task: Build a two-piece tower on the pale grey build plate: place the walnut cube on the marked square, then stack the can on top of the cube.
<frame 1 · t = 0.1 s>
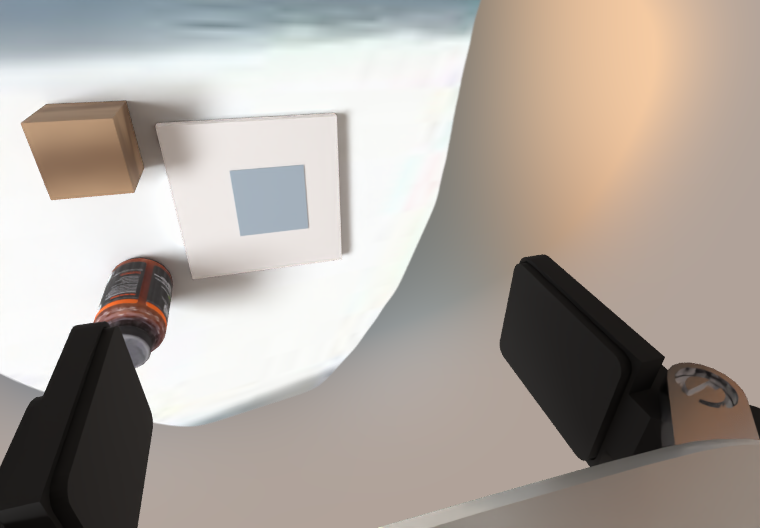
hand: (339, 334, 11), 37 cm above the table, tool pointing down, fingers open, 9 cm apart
walnut cube: (98, 137, 40), on the table
supplement bottle: (142, 279, 48), on the table
build plate: (260, 197, 47), on the table
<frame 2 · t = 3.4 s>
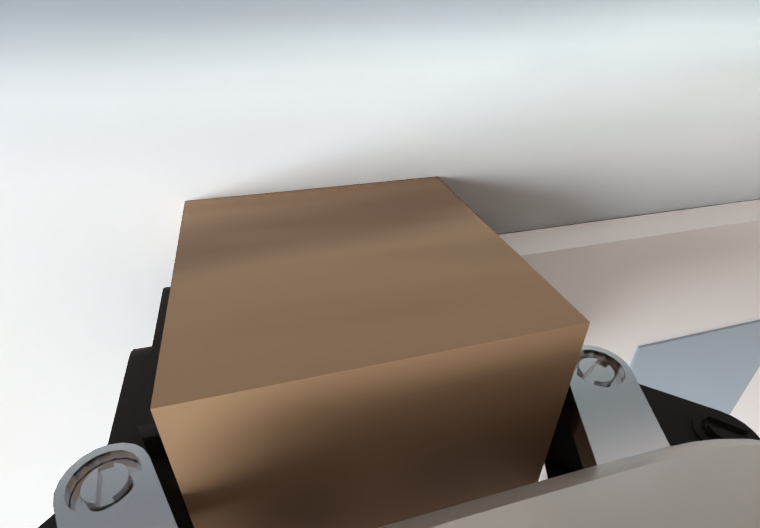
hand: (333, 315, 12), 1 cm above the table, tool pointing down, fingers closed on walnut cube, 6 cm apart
walnut cube: (325, 291, 13), on the table, touching gripper
build plate: (640, 379, 19), on the table
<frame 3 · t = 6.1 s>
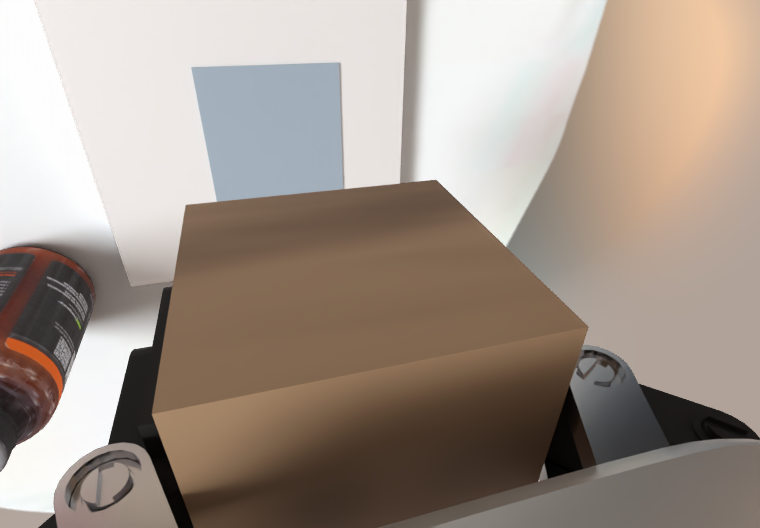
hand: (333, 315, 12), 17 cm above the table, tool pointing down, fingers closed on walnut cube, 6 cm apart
walnut cube: (325, 293, 13), point 16 cm above the table, touching gripper
supplement bottle: (39, 286, 26), on the table
build plate: (254, 131, 25), on the table
when the fingers open (4 cm above the table, at t = 8.8 s): walnut cube drops 1 cm, resting on build plate.
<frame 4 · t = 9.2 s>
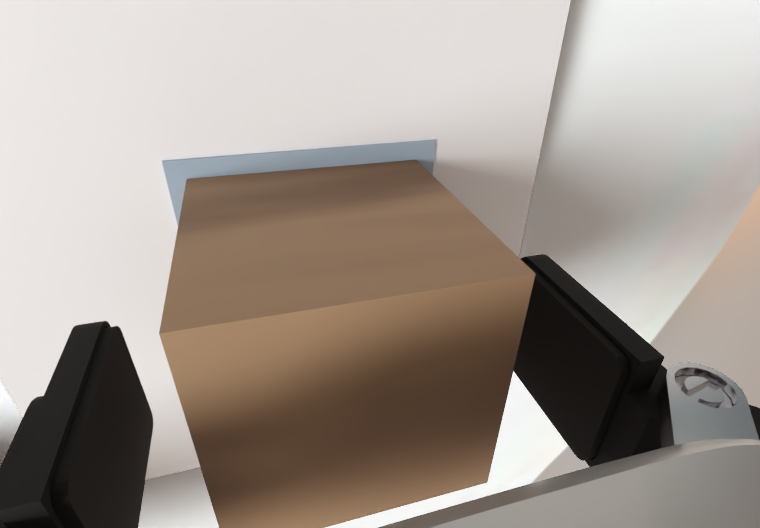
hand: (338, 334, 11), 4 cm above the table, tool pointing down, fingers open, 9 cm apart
walnut cube: (315, 265, 14), point 1 cm above the table, touching build plate
build plate: (278, 248, 14), on the table
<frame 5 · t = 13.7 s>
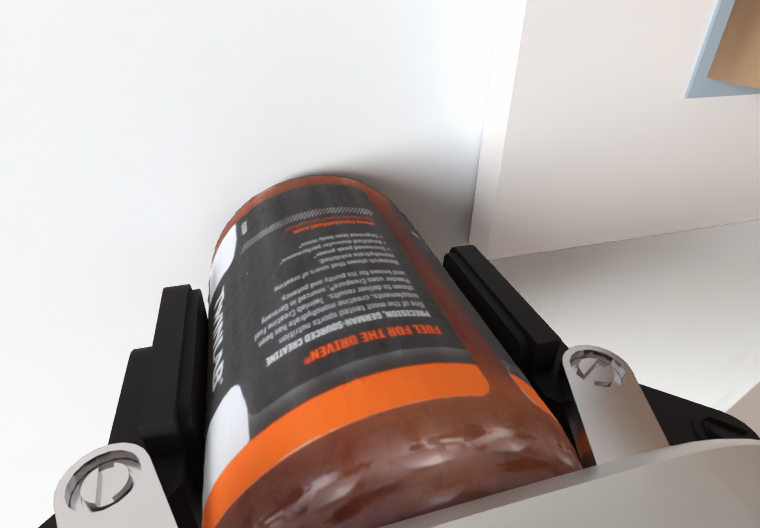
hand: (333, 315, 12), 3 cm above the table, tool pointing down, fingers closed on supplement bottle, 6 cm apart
supplement bottle: (314, 259, 14), on the table, touching gripper
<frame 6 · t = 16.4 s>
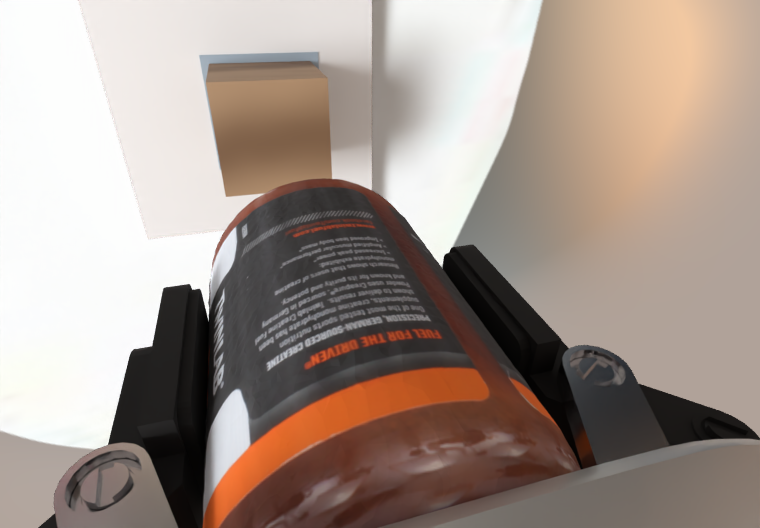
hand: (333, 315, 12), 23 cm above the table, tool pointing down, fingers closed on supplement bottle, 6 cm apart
walnut cube: (266, 112, 29), point 1 cm above the table, touching build plate
supplement bottle: (314, 262, 14), point 20 cm above the table, touching gripper
build plate: (250, 109, 30), on the table
when the fingers open (11 cm above the table, at t = 19.6 s): supplement bottle drops 1 cm, resting on walnut cube.
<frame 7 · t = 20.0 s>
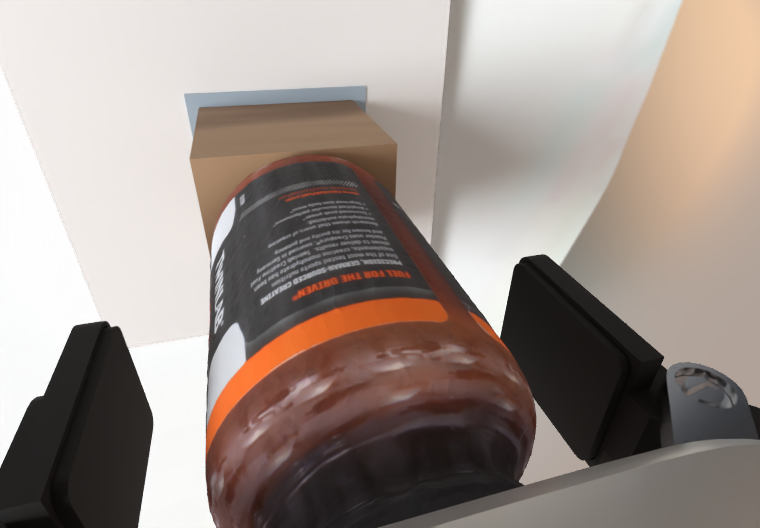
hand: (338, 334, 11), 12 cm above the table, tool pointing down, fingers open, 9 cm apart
walnut cube: (285, 175, 20), point 1 cm above the table, touching supplement bottle, build plate
supplement bottle: (307, 235, 15), point 7 cm above the table, touching walnut cube
build plate: (261, 166, 21), on the table
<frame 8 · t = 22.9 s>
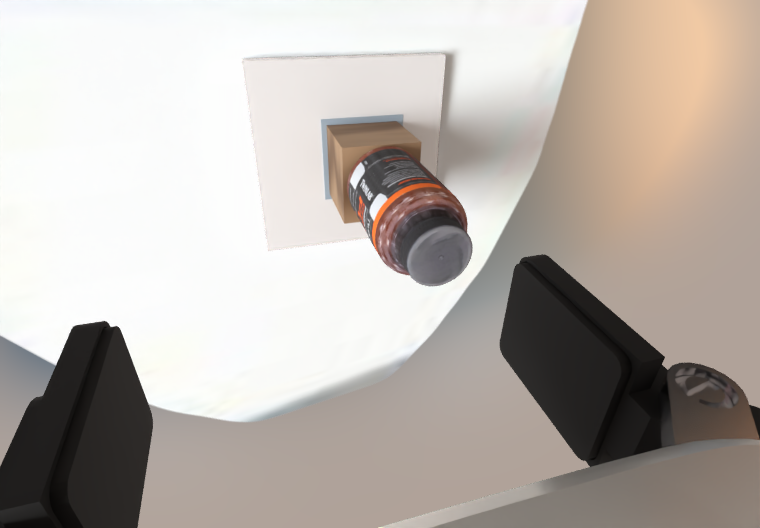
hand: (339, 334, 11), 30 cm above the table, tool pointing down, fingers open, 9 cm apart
walnut cube: (362, 158, 40), point 1 cm above the table, touching supplement bottle, build plate
supplement bottle: (382, 181, 35), point 7 cm above the table, touching walnut cube
build plate: (348, 154, 41), on the table
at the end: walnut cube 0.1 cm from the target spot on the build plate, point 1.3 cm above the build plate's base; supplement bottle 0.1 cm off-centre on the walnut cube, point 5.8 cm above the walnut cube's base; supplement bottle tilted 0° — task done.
